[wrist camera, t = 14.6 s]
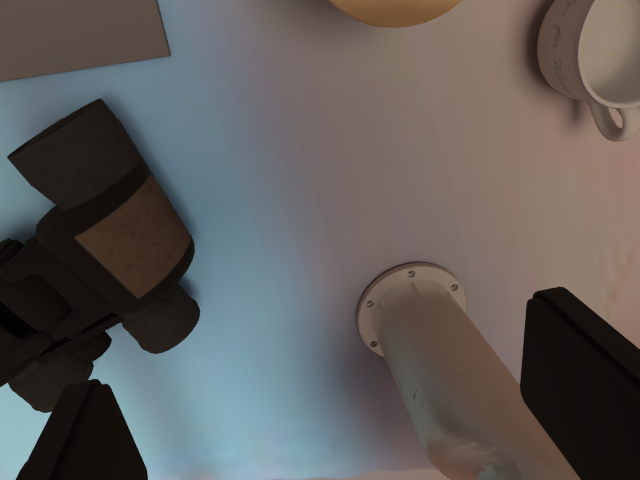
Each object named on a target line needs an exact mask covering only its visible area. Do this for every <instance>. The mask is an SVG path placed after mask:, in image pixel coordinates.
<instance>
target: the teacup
mask: <svg viewBox="0 0 640 480" xmlns="http://www.w3.org/2000/svg"><path fill="white" fill-rule="evenodd" d="M537 56H538V62H539V67H540V70H541V72H542V74H543V76H544V78H545V80H546V81H547V82H548V84H549V85H550V86H551V87H552V88H553V89H555V90H556V91H557V92H559V93H561V94H562V95H564V96H567V97H569V98H572V99H576V100H580V101H585V102H586V103H587V104H588V105H589V107H590V110H591V113H592V116H593V118H594V121H595V123H596V126H597V128H598V129H599V131H600V132H601V134H602V135H603V136H604V137H605V138H606V139H608V140H611V141H615V142H620V141H625V140H627V139H630V138H632V137H634V136H635V135H636V134H637V133H638V131H639V130H640V110H639V107H638V106H640V0H555V1H554V2H553V4H552V5H551V6H550V8H549V10H548V12H547V13H546V15H545V18H544V20H543V22H542V25H541V28H540V32H539V36H538V43H537ZM608 107H610V108H615V109H616V110H617V111H618V112H619V114H620V115H621V117H622V121H623V126H622V129H621V128H619V127H618V126H617V125H616V123H615V122H614V120H613V119H612V117H611V114H610V112H609V109H608Z"/></svg>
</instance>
